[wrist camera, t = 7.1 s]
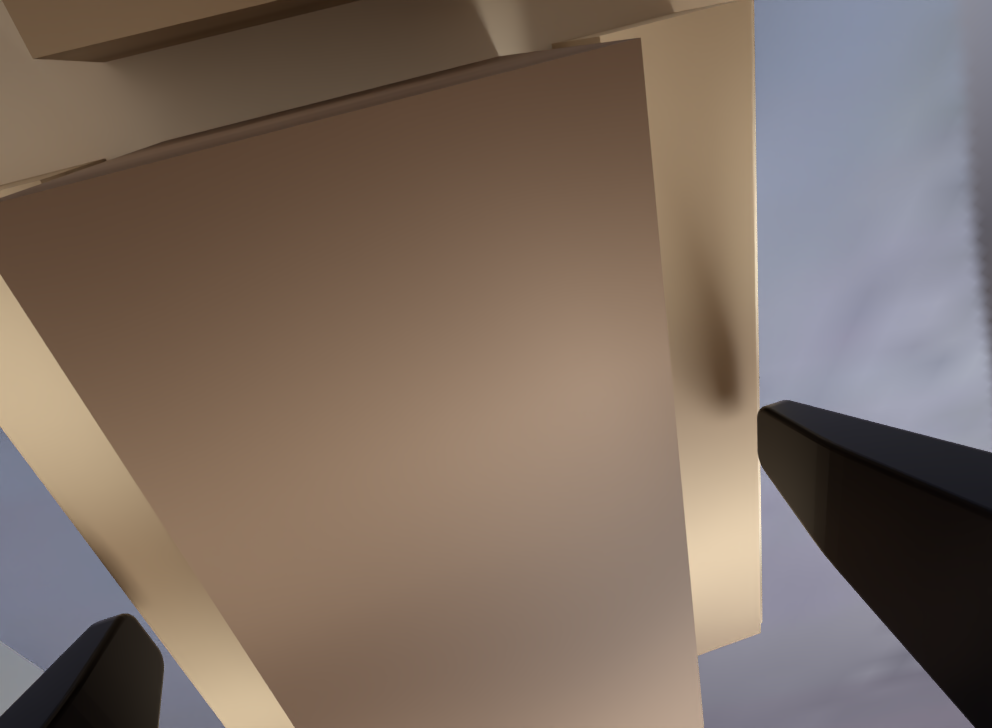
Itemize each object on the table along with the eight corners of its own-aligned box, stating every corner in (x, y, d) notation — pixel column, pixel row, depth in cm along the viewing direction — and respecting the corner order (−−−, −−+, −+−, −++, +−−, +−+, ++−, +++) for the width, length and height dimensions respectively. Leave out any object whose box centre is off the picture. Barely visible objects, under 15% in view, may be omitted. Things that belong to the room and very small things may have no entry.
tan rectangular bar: (605, 603, 13) (712, 830, 9) (408, 671, 13) (433, 939, 9) (499, 56, 8) (640, 37, 4) (163, 141, 8) (-42, 211, 4)
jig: (739, 591, 16) (811, 688, 13) (286, 751, 14) (272, 888, 12) (707, -211, 8) (862, -336, 6) (-234, -4, 7) (-546, -45, 5)
